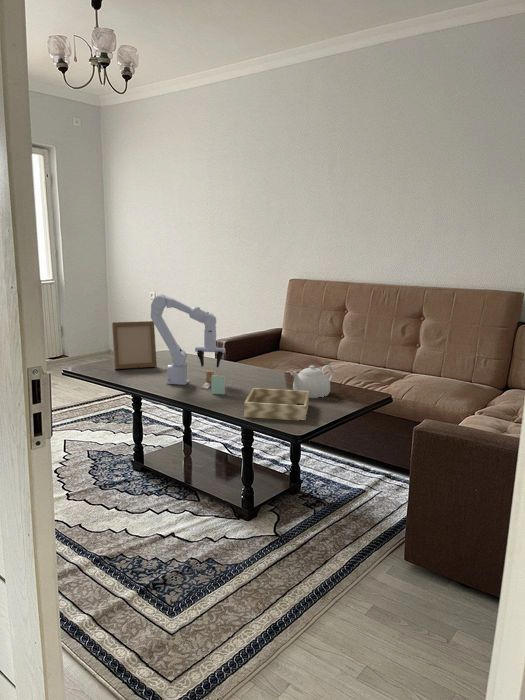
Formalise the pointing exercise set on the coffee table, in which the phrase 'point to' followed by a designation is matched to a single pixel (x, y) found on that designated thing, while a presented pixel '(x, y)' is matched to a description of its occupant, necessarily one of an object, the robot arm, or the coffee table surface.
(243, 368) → the coffee table surface
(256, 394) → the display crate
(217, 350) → the robot arm
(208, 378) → the turner
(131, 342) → the photo frame
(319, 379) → the teapot
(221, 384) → the tile
